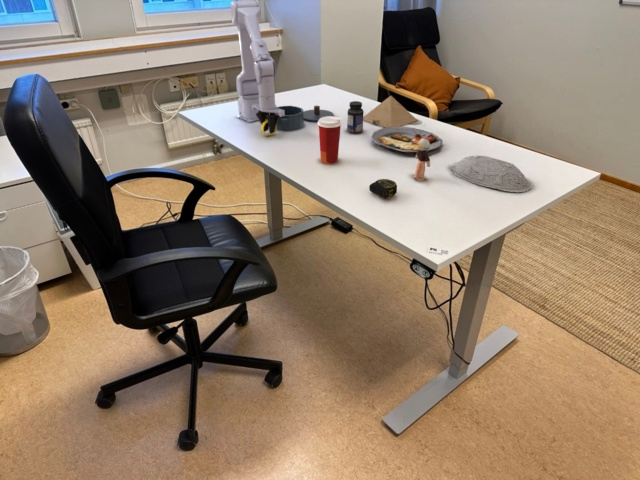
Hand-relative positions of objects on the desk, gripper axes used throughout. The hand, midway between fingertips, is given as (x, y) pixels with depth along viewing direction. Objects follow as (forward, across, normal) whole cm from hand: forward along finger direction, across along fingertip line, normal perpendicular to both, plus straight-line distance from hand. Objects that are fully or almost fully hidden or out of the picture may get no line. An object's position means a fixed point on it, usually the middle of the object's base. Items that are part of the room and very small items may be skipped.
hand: (269, 131), depth 169 cm
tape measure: (+2, -60, +18) cm, 62 cm away
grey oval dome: (+2, -80, -12) cm, 81 cm away
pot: (+1, +2, -12) cm, 13 cm away
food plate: (+2, -46, -22) cm, 51 cm away
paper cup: (+2, -32, +7) cm, 33 cm away
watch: (+2, 0, 0) cm, 2 cm away
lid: (+1, -2, -28) cm, 28 cm away
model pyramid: (+2, -28, -42) cm, 51 cm away
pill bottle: (+2, -24, -23) cm, 33 cm away
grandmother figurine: (+2, -63, +2) cm, 63 cm away
